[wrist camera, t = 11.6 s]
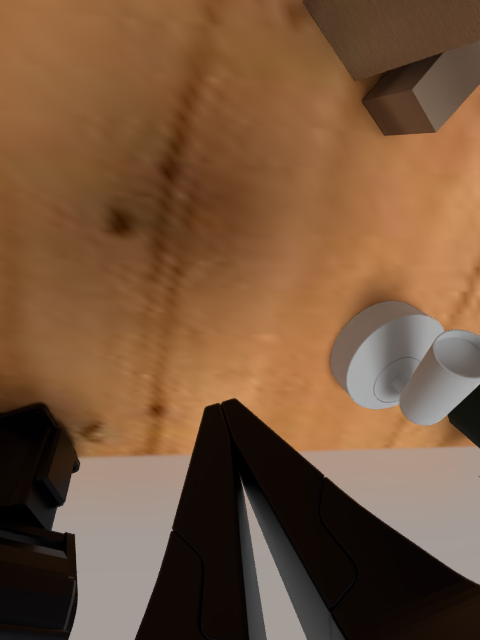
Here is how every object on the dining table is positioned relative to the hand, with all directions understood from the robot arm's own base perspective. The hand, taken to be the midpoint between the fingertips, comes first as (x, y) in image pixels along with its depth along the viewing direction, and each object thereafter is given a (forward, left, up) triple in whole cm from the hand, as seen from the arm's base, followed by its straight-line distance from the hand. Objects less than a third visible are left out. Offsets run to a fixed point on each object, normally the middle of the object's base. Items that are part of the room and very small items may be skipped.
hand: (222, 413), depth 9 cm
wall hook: (+14, -10, -13) cm, 22 cm away
